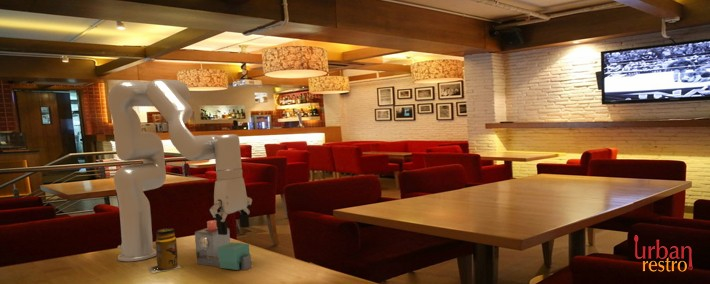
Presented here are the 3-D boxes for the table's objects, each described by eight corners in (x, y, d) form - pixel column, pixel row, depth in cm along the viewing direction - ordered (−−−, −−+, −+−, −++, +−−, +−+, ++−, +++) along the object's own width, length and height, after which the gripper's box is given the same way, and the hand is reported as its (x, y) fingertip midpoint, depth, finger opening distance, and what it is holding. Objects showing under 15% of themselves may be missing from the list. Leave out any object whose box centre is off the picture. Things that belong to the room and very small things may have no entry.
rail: (197, 264, 153) (196, 251, 153) (204, 261, 156) (203, 249, 155) (244, 270, 144) (243, 257, 144) (251, 267, 147) (250, 254, 146)
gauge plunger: (206, 236, 164) (205, 222, 164) (212, 234, 167) (211, 220, 167) (212, 237, 163) (211, 222, 163) (218, 235, 166) (218, 220, 165)
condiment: (181, 267, 150) (179, 229, 149) (152, 273, 145) (149, 234, 145) (176, 262, 156) (173, 226, 156) (148, 268, 151) (145, 230, 151)
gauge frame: (195, 255, 163) (193, 232, 163) (213, 248, 171) (212, 226, 170) (213, 257, 159) (211, 233, 159) (230, 250, 167) (229, 228, 166)
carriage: (219, 267, 147) (217, 247, 146) (232, 262, 152) (231, 242, 152) (236, 270, 143) (235, 249, 143) (250, 264, 149) (248, 244, 148)
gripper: (239, 171, 156) (243, 224, 156) (199, 179, 140) (204, 237, 141) (257, 171, 152) (261, 225, 153) (218, 178, 137) (223, 238, 137)
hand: (234, 230), depth 147 cm, fingers open, 9 cm apart
